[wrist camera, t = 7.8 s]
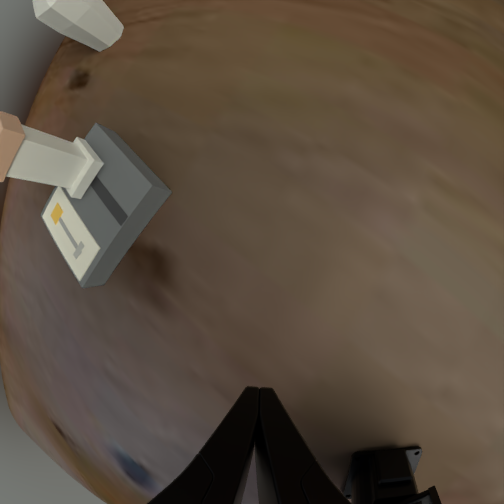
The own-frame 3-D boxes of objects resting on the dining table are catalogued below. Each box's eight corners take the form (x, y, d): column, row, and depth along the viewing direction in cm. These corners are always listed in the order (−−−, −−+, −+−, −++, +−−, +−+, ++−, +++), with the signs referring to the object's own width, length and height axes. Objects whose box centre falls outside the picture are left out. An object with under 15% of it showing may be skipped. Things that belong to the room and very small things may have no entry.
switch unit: (172, 192, 23) (150, 185, 20) (104, 285, 25) (80, 288, 22) (115, 131, 25) (94, 121, 22) (60, 217, 27) (38, 215, 24)
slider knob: (103, 163, 21) (4, 131, 11) (80, 199, 22) (-18, 182, 12) (85, 140, 22) (-3, 107, 12) (64, 173, 23) (-24, 152, 13)
